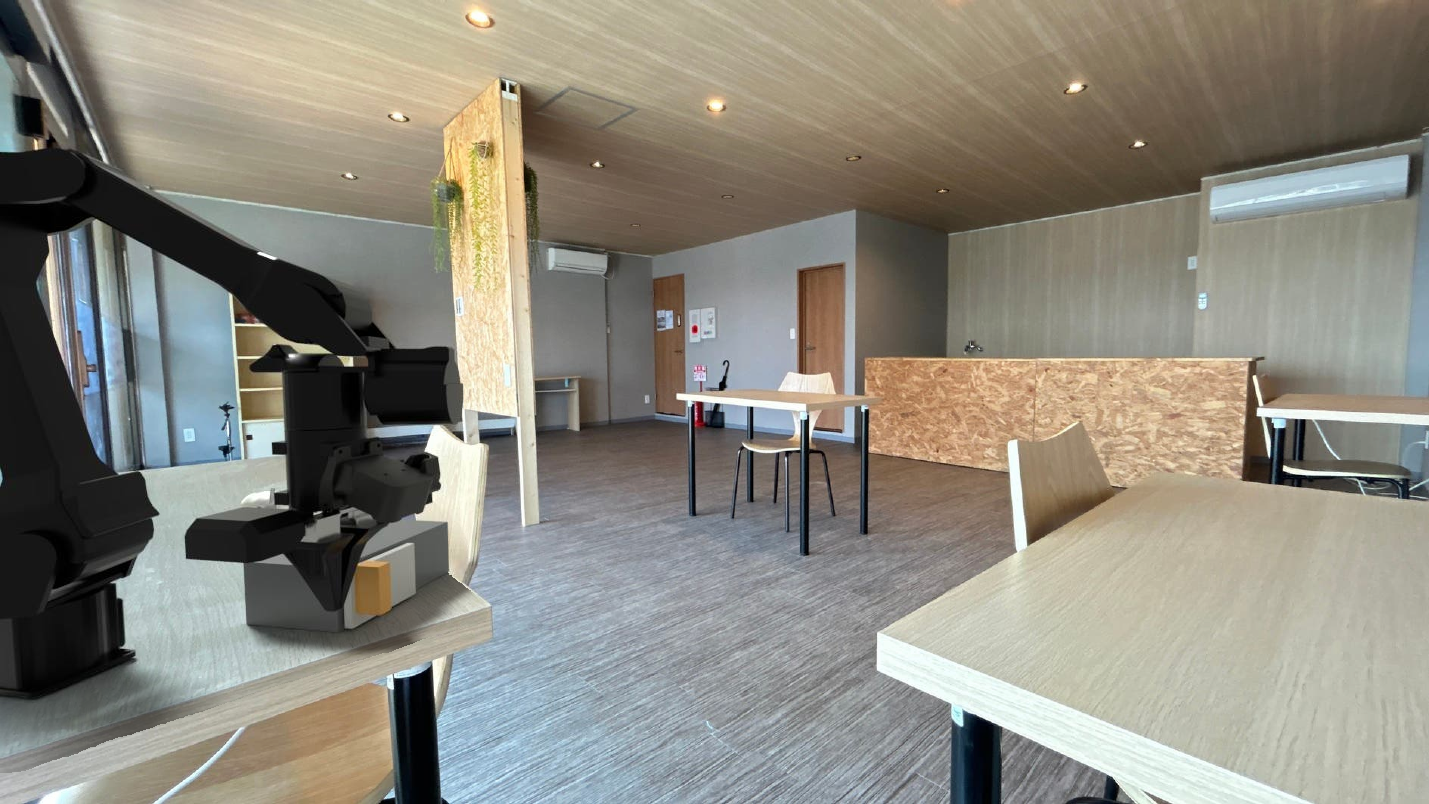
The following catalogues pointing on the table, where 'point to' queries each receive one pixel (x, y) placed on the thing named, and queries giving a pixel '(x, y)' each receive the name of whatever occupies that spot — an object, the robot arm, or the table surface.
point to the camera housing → (292, 604)
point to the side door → (380, 585)
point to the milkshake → (262, 500)
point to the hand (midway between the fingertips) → (334, 609)
